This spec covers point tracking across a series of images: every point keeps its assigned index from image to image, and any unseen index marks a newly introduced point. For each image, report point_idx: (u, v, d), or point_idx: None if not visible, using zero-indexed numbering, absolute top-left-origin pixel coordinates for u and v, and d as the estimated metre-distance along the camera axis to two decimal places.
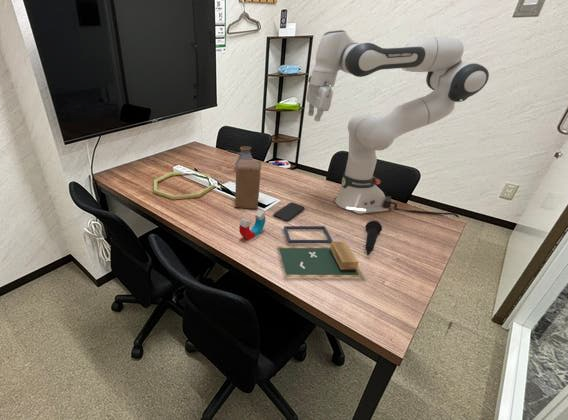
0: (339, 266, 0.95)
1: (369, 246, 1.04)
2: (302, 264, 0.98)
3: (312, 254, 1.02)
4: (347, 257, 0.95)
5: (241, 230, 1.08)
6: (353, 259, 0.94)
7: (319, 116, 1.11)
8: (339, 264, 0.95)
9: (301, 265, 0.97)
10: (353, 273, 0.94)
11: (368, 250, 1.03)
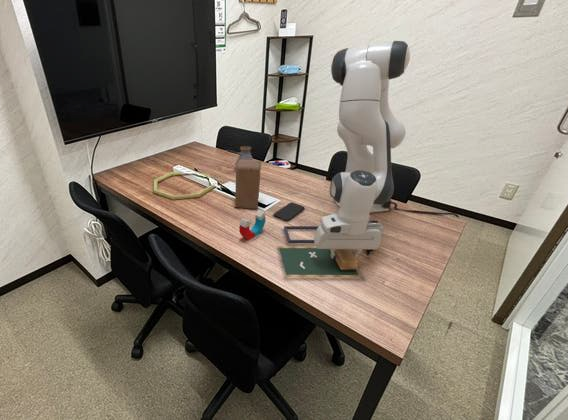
0: (339, 266, 0.95)
1: None
2: (302, 264, 0.98)
3: (312, 254, 1.02)
4: (347, 257, 0.95)
5: (241, 230, 1.08)
6: (353, 259, 0.94)
7: None
8: (339, 264, 0.95)
9: (301, 265, 0.97)
10: (353, 273, 0.94)
11: (368, 250, 1.03)
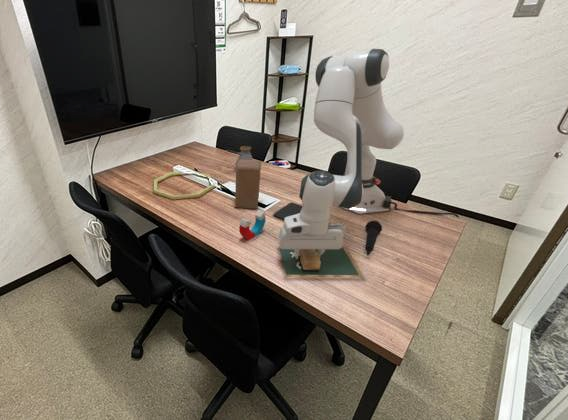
0: (302, 266, 0.95)
1: (369, 246, 1.04)
2: None
3: (293, 254, 1.02)
4: (310, 257, 0.95)
5: (241, 230, 1.08)
6: (316, 259, 0.94)
7: None
8: (302, 264, 0.95)
9: (298, 265, 0.97)
10: (353, 273, 0.94)
11: (368, 250, 1.03)
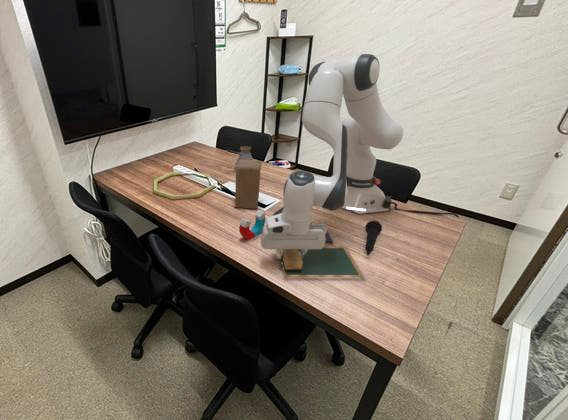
0: (285, 266, 0.96)
1: (369, 246, 1.04)
2: (282, 264, 0.98)
3: None
4: (292, 257, 0.95)
5: (241, 230, 1.08)
6: (298, 259, 0.94)
7: None
8: (285, 264, 0.96)
9: None
10: (353, 273, 0.94)
11: (368, 250, 1.03)
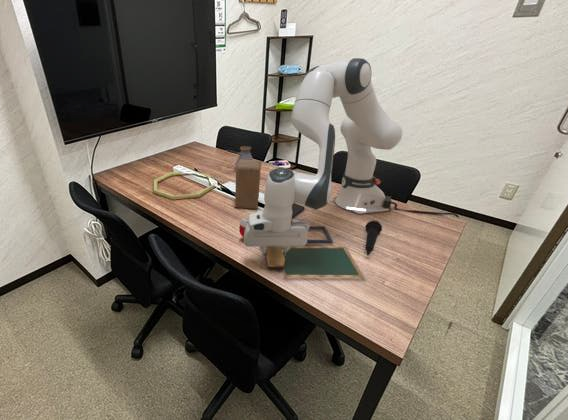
0: (267, 263, 0.95)
1: (369, 246, 1.04)
2: None
3: None
4: (275, 254, 0.95)
5: (241, 230, 1.08)
6: (280, 256, 0.94)
7: None
8: (267, 261, 0.95)
9: None
10: (353, 273, 0.94)
11: (368, 250, 1.03)
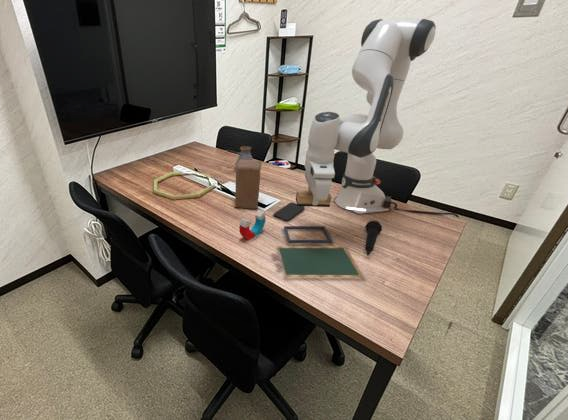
0: (326, 204, 1.03)
1: (369, 246, 1.04)
2: None
3: None
4: None
5: (241, 230, 1.08)
6: None
7: None
8: (326, 202, 1.03)
9: None
10: (353, 273, 0.94)
11: (368, 250, 1.03)
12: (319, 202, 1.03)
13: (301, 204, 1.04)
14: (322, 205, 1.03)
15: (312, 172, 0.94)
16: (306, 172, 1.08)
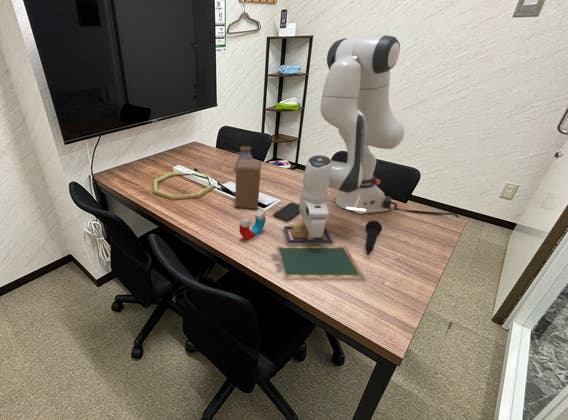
0: (320, 237, 1.10)
1: (369, 246, 1.04)
2: None
3: None
4: None
5: (241, 230, 1.08)
6: None
7: None
8: None
9: None
10: (353, 273, 0.94)
11: (368, 250, 1.03)
12: None
13: (296, 238, 1.11)
14: (316, 238, 1.10)
15: (307, 212, 1.00)
16: (300, 206, 1.15)
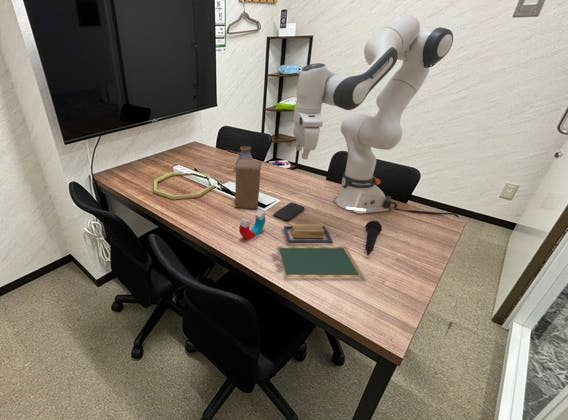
0: (320, 237, 1.10)
1: (369, 246, 1.04)
2: None
3: None
4: (316, 227, 1.11)
5: (241, 230, 1.08)
6: (318, 225, 1.12)
7: None
8: (319, 236, 1.10)
9: None
10: (353, 273, 0.94)
11: (368, 250, 1.03)
12: (313, 236, 1.10)
13: (296, 238, 1.11)
14: (316, 238, 1.10)
15: (301, 122, 0.97)
16: (294, 128, 1.12)
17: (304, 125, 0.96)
